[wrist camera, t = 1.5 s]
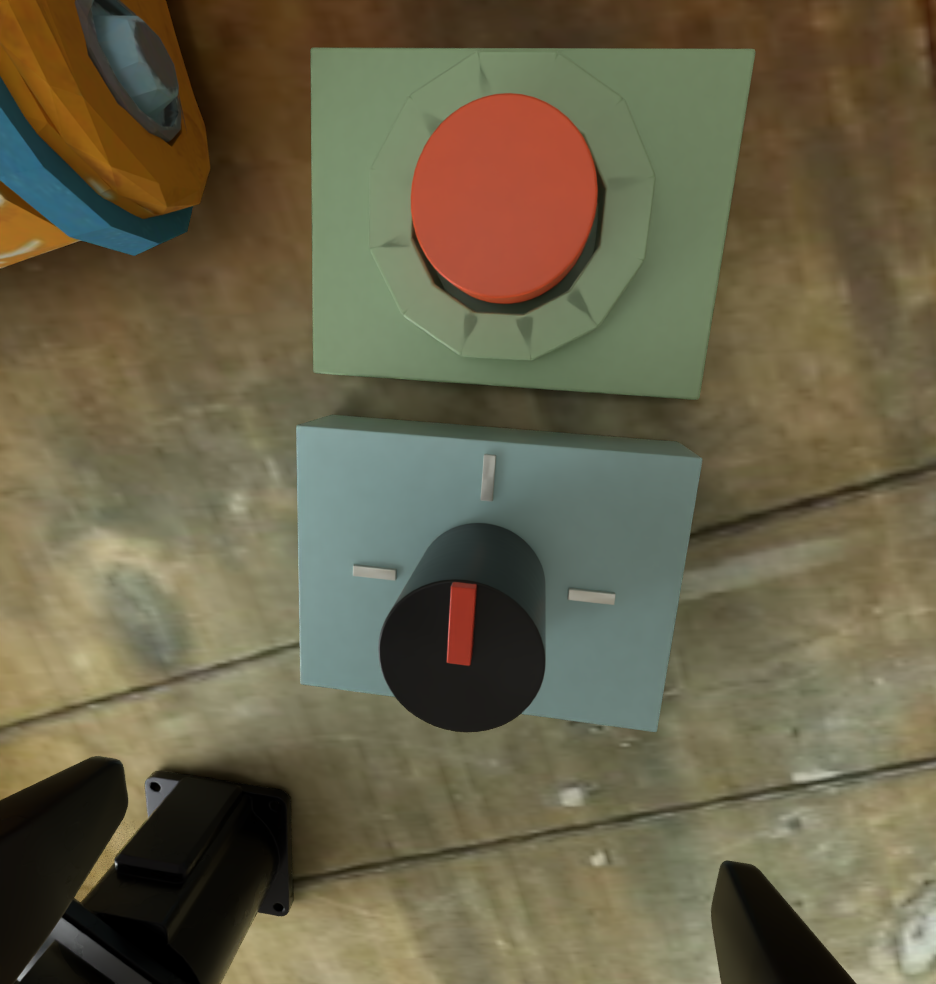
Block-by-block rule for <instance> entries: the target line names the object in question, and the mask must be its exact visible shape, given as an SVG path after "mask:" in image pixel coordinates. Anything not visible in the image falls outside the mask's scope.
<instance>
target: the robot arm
mask: <svg viewBox="0 0 936 984" xmlns="http://www.w3.org/2000/svg"><path fill="white" fill-rule="evenodd" d="M145 792H146V802H147V812H148V819H147V820H146V821H145V822H144V823H143V824H142V826H141V827H140V828H139V829H138V830H137V832H136V833H135V834H134V835H133V836H132V837H131V839H130V840H129V841H128V842H127V843H126V844H125V846H124V847H123V848H122V849H121V850H120V852H119V853H118V854H117V855H116V857H115V862H114V864H113V865H112V866H111V867H110V868H109V869H108V871H107V872H106V873H105V874H104V875H103V877H102V878H101V879H100V880H99V881H98V883H97V884H96V885H95V886H94V887H93V888H92V890H91V891H90V892H89V893H88V894H87V896H86V897H85V898H84V899H83V900H82V902H81V903H80V902H79V901H78V900H76V899H75V898H74V897H75V895H76V894H77V892H78V890H79V889H80V887H81V886H82V884H83V882H84V881H85V879H86V878H87V876H88V874H89V873H90V871H91V870H92V868H93V866H94V865H95V863H96V862H97V860H98V858H99V857H100V855H101V854H102V852H103V850H104V849H105V847H106V846H107V844H108V842H109V841H110V839H111V838H112V836H113V834H114V833H115V831H116V829H117V828H118V826H119V825H120V823H121V821H122V820H123V818H124V816H125V813H126V810H127V807H128V795H127V788H126V781H125V774H124V767H123V764H122V763H121V762H120V760H117V759H113V758H107V757H101V756H95V757H91V758H89V759H86V760H84V761H82V762H80V763H78V764H76V765H74V766H72V767H70V768H67V769H65V770H63V771H61V772H59V773H57V774H55V775H53V776H51V777H49V778H46V779H44V780H42V781H40V782H38V783H36V784H34V785H32V786H30V787H28V788H25V789H23V790H21V791H19V792H17V793H15V794H13V795H11V796H9V797H7V798H4V799H2V800H0V984H221V982H222V980H223V978H224V976H225V974H226V972H227V971H228V969H229V967H230V965H231V963H232V961H233V959H234V957H235V955H236V953H237V951H238V949H239V947H240V945H241V943H242V941H243V939H244V937H245V935H246V933H247V931H248V930H249V928H250V926H251V924H252V922H253V920H254V918H255V916H256V914H257V912H259V913H265V914H270V915H276V916H285V915H287V914H288V912H289V910H290V908H291V906H292V903H293V880H292V835H291V800H290V797H289V795H288V794H287V793H286V792H285V791H283V790H280V789H274V788H267V787H261V786H254V785H248V784H242V783H235V782H229V781H223V780H216V779H210V778H204V777H197V776H191V775H185V774H178V773H172V772H166V771H155V772H153V773H152V774H151V775H150V776H149V778H148V779H147V780H146V781H145ZM277 802H278V803H279V804H278V803H277ZM711 920H712V929H713V935H714V941H715V947H716V954H717V960H718V966H719V972H720V978H721V984H856V983H855V981H854V980H853V979H852V978H851V977H850V976H849V974H848V973H847V972H846V971H845V970H844V968H843V967H842V966H841V965H840V964H839V963H838V961H837V960H836V959H835V958H834V957H833V956H832V954H831V953H830V952H829V951H828V950H827V949H826V947H825V946H824V945H823V944H822V943H821V941H820V940H819V939H818V938H817V937H816V936H815V934H814V933H813V932H812V931H811V930H810V929H809V927H808V926H807V925H806V924H805V923H804V922H803V920H802V919H801V918H800V917H799V916H798V914H797V913H796V912H795V911H794V910H793V909H792V907H791V906H790V905H789V904H788V903H787V902H786V900H785V899H784V898H783V897H782V896H781V895H780V893H779V892H778V891H777V890H776V889H775V887H774V886H773V885H772V884H771V883H770V882H769V880H768V879H767V878H766V877H765V876H764V875H763V873H762V872H761V871H760V870H759V869H758V868H756V867H755V866H754V865H751V864H746V863H740V862H734V861H724V862H723V863H722V864H721V866H720V869H719V874H718V878H717V883H716V887H715V892H714V896H713V901H712V907H711Z"/></svg>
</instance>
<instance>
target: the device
mask: <svg viewBox="0 0 936 984" xmlns="http://www.w3.org/2000/svg"><path fill="white" fill-rule="evenodd" d="M209 172H210V161H209V153H208V144H207V136H206V128H205V124H204V121H203V119H202V116H201V113H200V111H199V108H198V105H197V103H196V100H195V97H194V94H193V91H192V87H191V84H190V81H189V78H188V74H187V71H186V68H185V65H184V61H183V58H182V55H181V52H180V48H179V45H178V41H177V38H176V34H175V31H174V27H173V24H172V20H171V17H170V13H169V10H168V6H167V2H166V0H0V269H1V268H4V267H6V266H9V265H12V264H15V263H17V262H20V261H23V260H26V259H29V258H32V257H35V256H38V255H41V254H43V253H46V252H49V251H52V250H55V249H58V248H61V247H64V246H67V245H69V244H72V243H75V242H78V241H85V242H88V243H92V244H95V245H99V246H102V247H106V248H109V249H113V250H116V251H120V252H123V253H126V254H130V255H133V256H135V255H137V254H139V253H141V252H144V251H146V250H148V249H150V248H152V247H155V246H157V245H159V244H161V243H163V242H166V241H168V240H170V239H172V238H174V237H177V236H179V235H181V234H183V233H185V232H187V231H188V226H189V222H190V217H191V213H192V208H193V206H194V205H198V204H200V202H201V199H202V195H203V192H204V189H205V185H206V182H207V178H208V175H209Z"/></svg>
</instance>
